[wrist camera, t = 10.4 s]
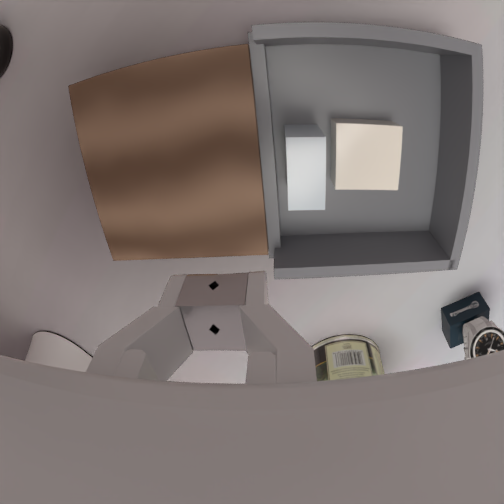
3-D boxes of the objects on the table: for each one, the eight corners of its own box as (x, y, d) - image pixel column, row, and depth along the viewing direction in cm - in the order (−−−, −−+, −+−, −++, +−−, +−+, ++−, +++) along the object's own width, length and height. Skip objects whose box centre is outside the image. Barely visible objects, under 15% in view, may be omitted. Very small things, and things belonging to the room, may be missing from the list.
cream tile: (335, 189, 23) (330, 178, 25) (397, 190, 22) (388, 179, 24) (336, 123, 20) (330, 118, 22) (402, 126, 20) (391, 120, 22)
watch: (479, 279, 30) (521, 347, 21) (477, 324, 34) (509, 387, 24) (439, 296, 32) (475, 370, 22) (442, 339, 35) (468, 407, 26)
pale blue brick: (286, 185, 26) (317, 184, 25) (288, 210, 21) (325, 209, 21) (284, 124, 23) (316, 124, 23) (285, 137, 19) (325, 136, 19)
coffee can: (319, 391, 42) (323, 481, 30) (287, 351, 38) (285, 457, 26) (388, 367, 39) (407, 459, 27) (367, 322, 34) (391, 431, 22)
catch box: (431, 234, 28) (457, 269, 23) (270, 240, 30) (268, 279, 25) (443, 45, 18) (481, 44, 13) (251, 36, 20) (242, 26, 15)
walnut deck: (269, 230, 29) (268, 254, 26) (129, 238, 31) (113, 260, 27) (252, 48, 21) (247, 43, 17) (93, 81, 22) (68, 85, 19)
